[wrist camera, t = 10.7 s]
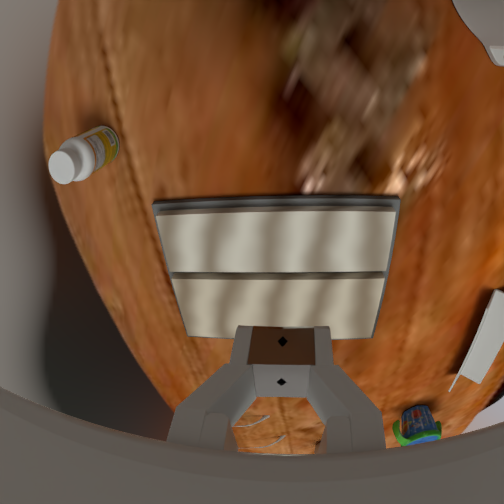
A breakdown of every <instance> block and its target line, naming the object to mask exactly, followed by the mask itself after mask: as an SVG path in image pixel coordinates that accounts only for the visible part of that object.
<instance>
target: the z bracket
mask: <svg viewBox="0 0 504 504" xmlns="http://www.w3.org/2000/svg"><path fill="white" fill-rule="evenodd" d="M503 342H504V292H502V291H500V290H498V289H494V291H493V294H492V296H491V298H490V301H489V303H488V305H487V308H486V310H485V313H484V316H483V318H482V321H481V323H480V326H479V328H478V331H477V333H476V335H475V338H474V340H473V342H472V345H471V347H470V349H469V351H468V353H467V356H466V358H465V360H464V362H463V364H462V366H461V368H460V370H459V372H458V374H457V376H456V378H455V380H454V382H453V384H452V386H451V387H450V389H449V392H450V391H451V389H452V387H453V386H454V384H455V382H456V381H457V379H458V377H459V375H460V374H461V375H463V376H465V377H467V378H469V379H471V380H473V381H475V382H476V383H478V384H480V383H481V381H482V380H483V378H484V376H485V375H486V373H487V371H488V370H489V368H490V366H491V364H492V363H493V361H494V359H495V357H496V355H497V353H498V351H499V350H500V348H501V346H502V344H503Z"/></svg>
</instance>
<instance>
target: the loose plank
mask: <svg viewBox="0 0 504 504" xmlns="http://www.w3.org/2000/svg"><path fill="white" fill-rule="evenodd" d="M384 280H385V278H384V275H383V272H359V273H174V275H173V277H172V283H173V286H174V290H175V294H176V297H177V300H178V304H179V307H180V311H181V314H182V317H183V321H184V324H185V327H186V330H187V333H188V336H200V337H218V338H235V333H236V329H237V327H238V325H243V326H272V327H294V326H313V327H314V326H329V327H330V332H331V339H348V338H371V335H372V331H373V327H374V323H375V319H376V315H377V311H378V307H379V303H380V298H381V294H382V289H383V285H384Z"/></svg>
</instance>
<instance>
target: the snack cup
mask: <svg viewBox="0 0 504 504" xmlns="http://www.w3.org/2000/svg"><path fill="white" fill-rule="evenodd" d="M399 426H400V421H399V420H397V421H395V422H394V424H393V427H392V428H393V432H394V435H395V437H396V439H397V441H398V442H399V443H400V444H401V446H408V445H414V444H419V443H425V442H430V441H435V440H439V439H440V438H441V432H442V431H441V423H440V421H437V422H435V421H434V419H433V417H432V414H431V412H430V410H429V408H428V406H425V405H421V406H415V407H413V408H410V409H408V410H407V411H405V412H404V413H403V415H402V434H401V432H400V429H399Z"/></svg>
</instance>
